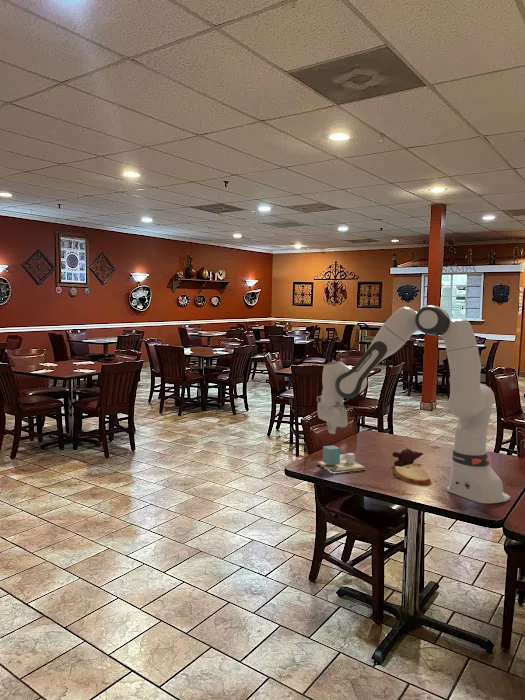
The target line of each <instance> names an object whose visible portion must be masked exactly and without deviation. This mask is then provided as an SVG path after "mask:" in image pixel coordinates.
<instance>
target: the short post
mask: <svg viewBox="0 0 525 700" xmlns="http://www.w3.org/2000/svg"><path fill="white" fill-rule="evenodd" d="M355 456H356V454H355V453H353V452H348V453H346V455H345V459H346V463H347V464H355V462H356V461H355V459H356V457H355Z"/></svg>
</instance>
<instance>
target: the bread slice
mask: <svg viewBox="0 0 525 700" xmlns="http://www.w3.org/2000/svg"><path fill="white" fill-rule="evenodd" d="M392 472H393V475H394V474H395V475H396V476H397V477H396V476H395V475H394V476H395V477H396V478H398V479H400V478H401V479H402V481H403V480H404V482H407V483H409V484H414V485H417V486H432V479H431V477H430V475H429V473H427V472H426V471H425V470H424V469H423V468H422V467H420V466H419V465H417V464H416V463H412V464H405V465H403V466H400V465H397V466H396V465H394V467H393V470H392ZM401 479H400V480H401Z"/></svg>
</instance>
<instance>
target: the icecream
mask: <svg viewBox="0 0 525 700" xmlns="http://www.w3.org/2000/svg"><path fill="white" fill-rule="evenodd" d="M423 455H424V453H423V452H419V451H415V450H412V449H410V448H405V449H402V450H401V451H400V452H397V451H393V452H392V457H393V458H396V459H397V460H395V461H394V462H393V465H394V466H396V465H397V466H400V465H401V464H404V465H410V464H415V463H414V462H415V460H417V459H418V458H420V457H421V456H423Z"/></svg>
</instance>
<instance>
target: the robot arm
mask: <svg viewBox="0 0 525 700" xmlns="http://www.w3.org/2000/svg"><path fill="white" fill-rule="evenodd" d="M419 331H420V332H421V333H424V334H425V335H429V336H440V337H441V338H442V339H443V343H444V346H445V351H446V356H447V360H448V366H449V374H450V376H449V378H450V379H449V380H450V381H449V391H450V392H449V397H448V401H447V405H448V409H449V410H450V412H451V413H452V414H453V415H454V416H457V417H458V421H457V423H456V424H457V425H456V426H455V428H454V442H453V443H454V444H453V450H452V453H451V455H452V462H453V463H452V466H451V469H450V474H449V481H448V484H447V487H446V491H447V492H449V493H452V494H454V495H457V496H459V497H463V498H465V499H468V500H471V501H474V502H476V503H479V504H499V503H504V502H508V501H510V500H511V496H510V495H508V493H506V492H504V487H503V481H502V480H501V478H500V476H498V474H497V473H496V472H495V471H494V470H493V468H492V467H491V466H490V462H491V461H492V458H491V457H488V454H487V437H488V436H487V435H488V428H489V423H490V419H491V415H492V408H493V404H494V402H495V393H494V391H493V390H492V389H491V388H490V387H489V386H488V385H485V384H482V383H481V370H482V361H481V356H480V351H479V347H478V343H477V339H476V335H475V332H474V330H473V327H472V325H471V323H470V321H468V320H466V319H464V318H456V319H455V318H453V319H452V318H450V316H449V314H448V312H447V311H446V310H444V309H443V308H442V307H440V306H437V305H431V304H430V305H426V306H422V307H421V308H420V309H419V310H418V311H417V310H414V309H413V308H411V307H408V306H403V307H399V308H398V309H397V310H395V312H393V314H392V315H390V317H389V318H388V319H387V320H385V322H384V323H383V325H382V326H381V327H380V328H379V330H378V332H377V333H376V335H375V336H374V337H373V340H372V341H371V344H370V345H369V347H368V348H367V350H366V352H365V353H364V354H363V355H362V356H361V357H360V359H359V360H358V361H357V362H356V364H354V365H353V367H349V366H348V365H346V364H345V363H343V362H344V361H341V360H338V361H337V360H336V361H335V360H334V361H331V362H330V361H329V362H327V363H326V364H324V366H323V369H322V378H321V380H322V381H321V383H322V390H321V395H319V396H316V402H317V407H316V408H317V416H318V417H317V418H318V419H320V420H322V421H325V422H326V425H327V429H328V433H329V434H331V435H335V434H336V432H337V428H338V427H339V428H346V427H347V426H348V421H349V420H348V411H347V409H346V407H345V405H344V399H346V400H351V399H354V398H356V397H357V396H359V395H360V394H361V393H362V392H363V391H365V390H366V388H367V386H368V378H367V377H368V376H369V374H370V373H371V372H372V371H373V369H374V368H376V366H377V365H378V364H379V363H381V362H382V361H383V360H385V359H387V358H388V357H390V356H392V355H393V354H395V353H397V352H398V350H400V349H402V347H403V346H404V345H405V344H406V343H407V342H408V340H409V339H410V338H411V337H412V336H413V334H415V333H416V332H419Z"/></svg>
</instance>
